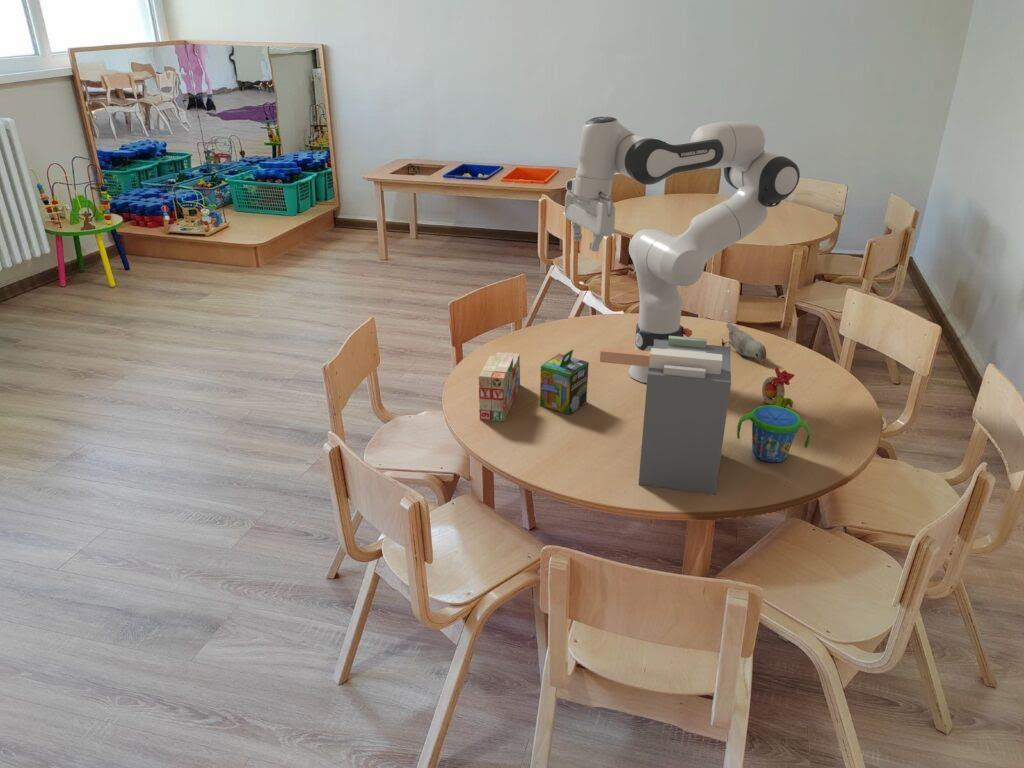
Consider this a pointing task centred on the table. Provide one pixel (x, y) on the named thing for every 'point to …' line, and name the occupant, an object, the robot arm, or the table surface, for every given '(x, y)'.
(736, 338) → the decorative bird
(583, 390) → the chalk box
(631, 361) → the lever bar
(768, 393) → the bird rattle
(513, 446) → the table surface
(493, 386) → the stack of blocks
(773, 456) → the snack cup
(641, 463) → the cabinet
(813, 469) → the table surface
